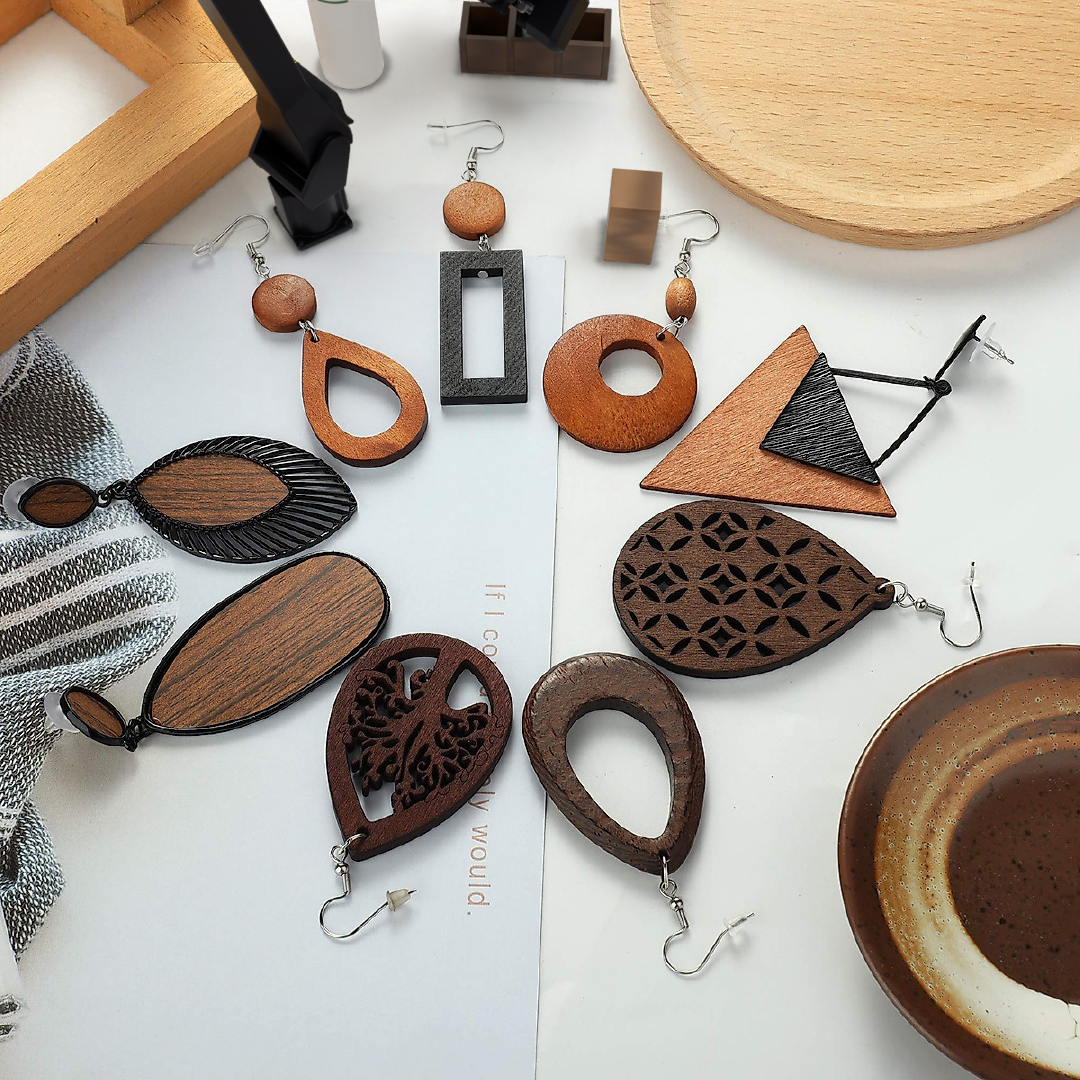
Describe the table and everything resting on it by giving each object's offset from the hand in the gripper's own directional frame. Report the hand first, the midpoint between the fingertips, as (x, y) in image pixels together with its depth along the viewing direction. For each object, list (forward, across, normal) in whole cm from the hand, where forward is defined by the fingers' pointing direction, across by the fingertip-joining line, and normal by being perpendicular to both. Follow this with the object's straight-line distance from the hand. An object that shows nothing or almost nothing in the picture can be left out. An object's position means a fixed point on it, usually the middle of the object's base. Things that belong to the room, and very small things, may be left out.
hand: (544, 4), depth 109 cm
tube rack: (+3, 0, +5) cm, 6 cm away
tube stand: (-6, -26, +14) cm, 30 cm away
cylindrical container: (-8, +14, +17) cm, 23 cm away
